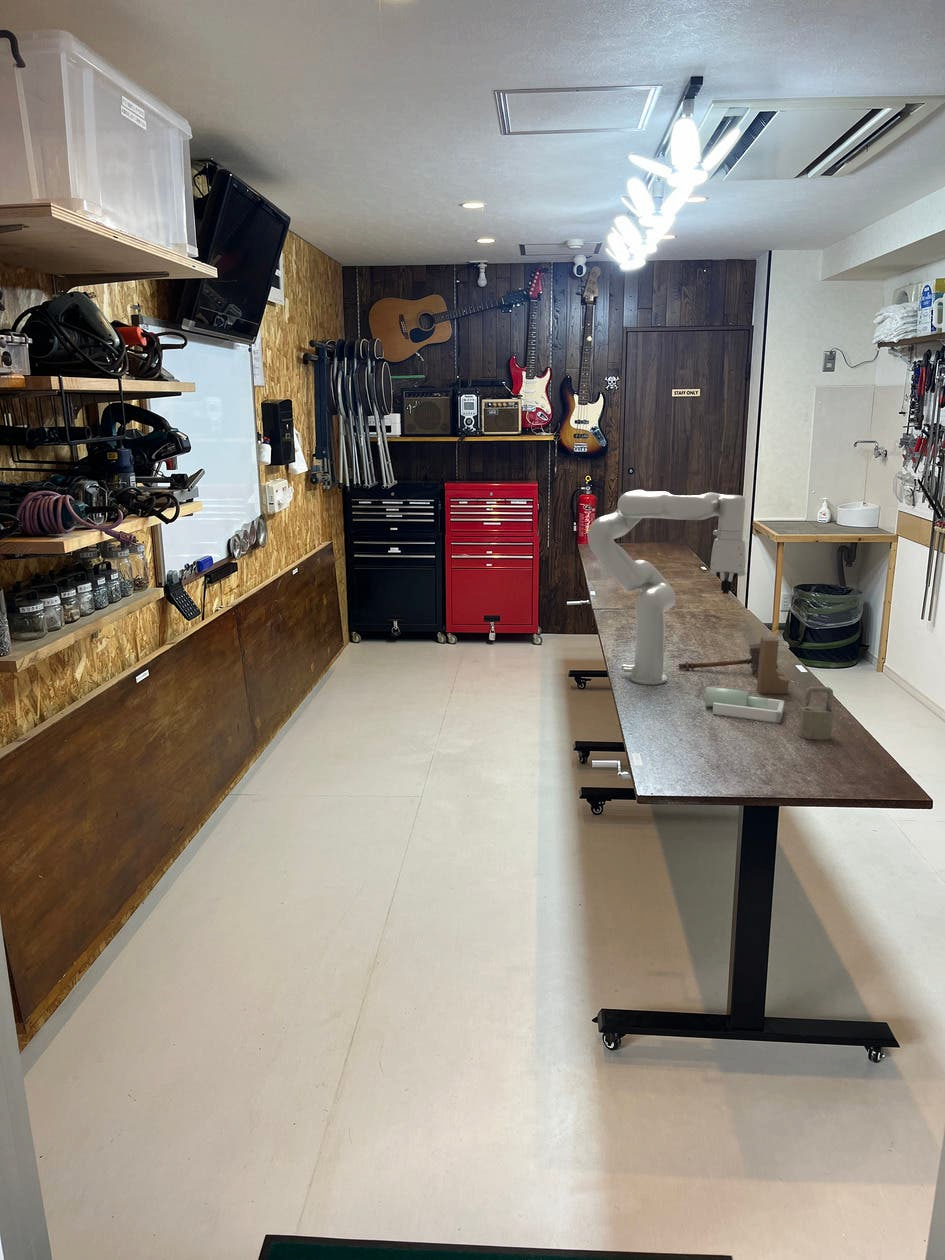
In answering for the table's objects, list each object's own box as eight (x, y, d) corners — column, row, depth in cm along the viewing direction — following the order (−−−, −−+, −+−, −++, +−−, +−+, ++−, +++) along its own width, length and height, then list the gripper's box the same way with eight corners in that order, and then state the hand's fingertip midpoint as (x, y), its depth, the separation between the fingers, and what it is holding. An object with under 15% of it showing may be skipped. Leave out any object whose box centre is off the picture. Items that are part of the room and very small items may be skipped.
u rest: (712, 714, 274) (713, 703, 273) (718, 702, 284) (719, 692, 283) (780, 723, 267) (781, 712, 266) (783, 711, 277) (784, 700, 276)
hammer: (779, 673, 308) (775, 646, 306) (681, 686, 315) (677, 659, 313) (776, 668, 314) (773, 640, 312) (681, 680, 322) (677, 653, 320)
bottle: (706, 687, 277) (767, 694, 270) (708, 685, 283) (768, 692, 276) (704, 706, 277) (765, 714, 271) (706, 704, 283) (766, 712, 276)
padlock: (798, 733, 259) (803, 684, 255) (827, 734, 258) (833, 685, 254) (801, 738, 255) (806, 688, 251) (831, 740, 254) (836, 689, 250)
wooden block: (783, 689, 296) (788, 636, 291) (788, 694, 292) (793, 640, 287) (756, 689, 296) (760, 636, 291) (760, 694, 292) (765, 640, 287)
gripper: (703, 535, 280) (699, 593, 285) (753, 538, 274) (748, 597, 279) (707, 532, 287) (703, 588, 291) (756, 535, 281) (751, 592, 286)
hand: (725, 592), depth 285 cm, fingers closed
